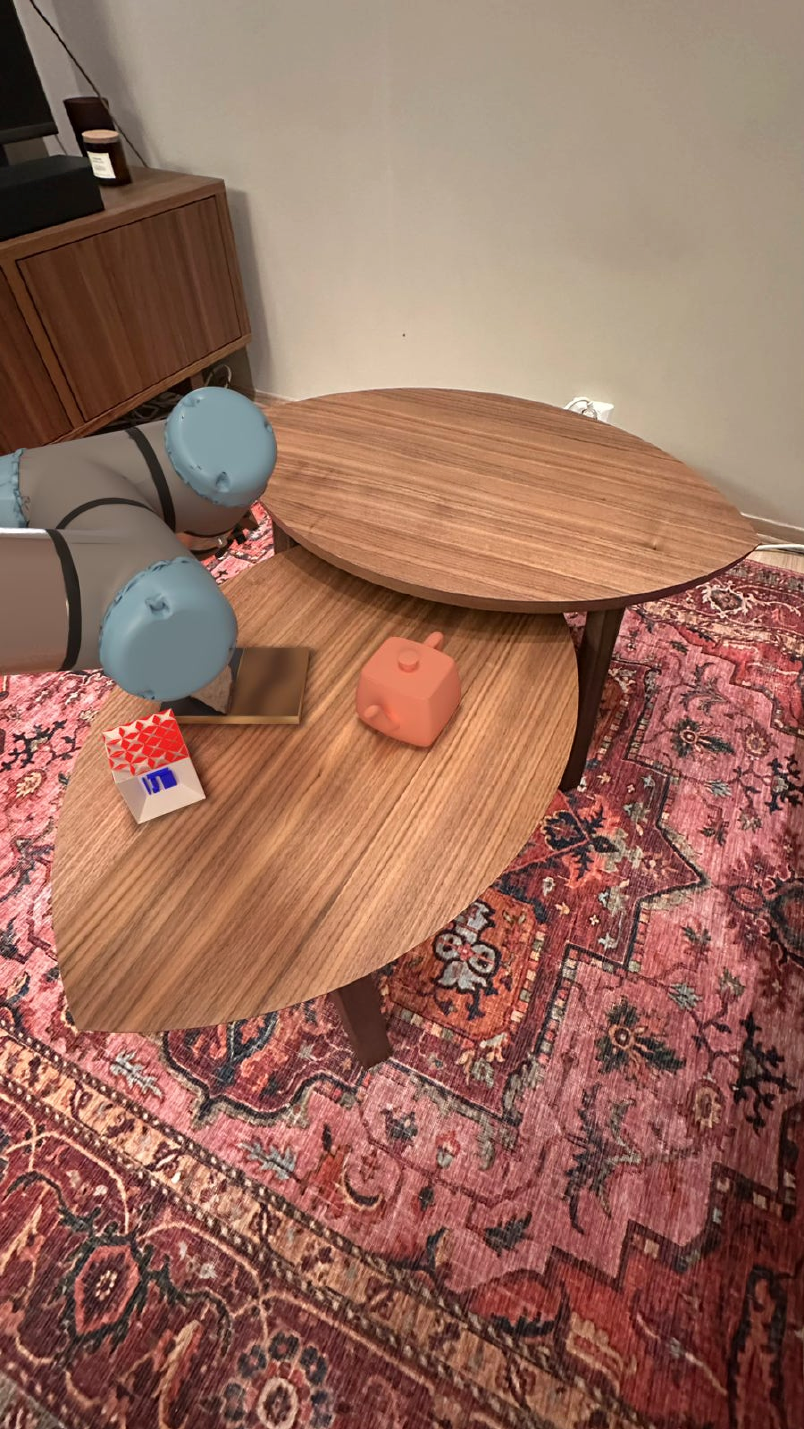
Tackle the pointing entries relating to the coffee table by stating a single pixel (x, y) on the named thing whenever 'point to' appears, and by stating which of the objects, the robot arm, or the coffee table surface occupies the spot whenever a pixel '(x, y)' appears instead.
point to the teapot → (409, 689)
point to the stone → (218, 692)
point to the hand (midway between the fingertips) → (160, 570)
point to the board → (255, 689)
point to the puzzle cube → (152, 766)
